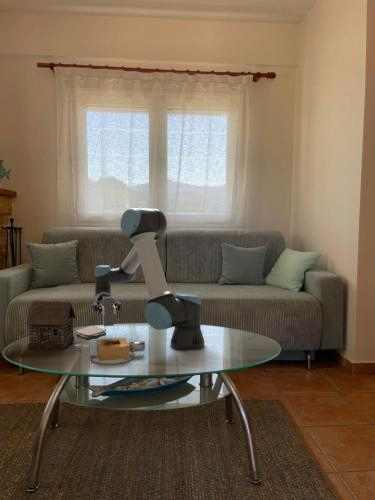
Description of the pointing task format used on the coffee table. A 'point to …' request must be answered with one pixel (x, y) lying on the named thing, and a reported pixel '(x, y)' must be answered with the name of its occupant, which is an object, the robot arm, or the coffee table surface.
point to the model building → (50, 325)
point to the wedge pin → (108, 311)
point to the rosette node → (115, 351)
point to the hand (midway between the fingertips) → (109, 311)
